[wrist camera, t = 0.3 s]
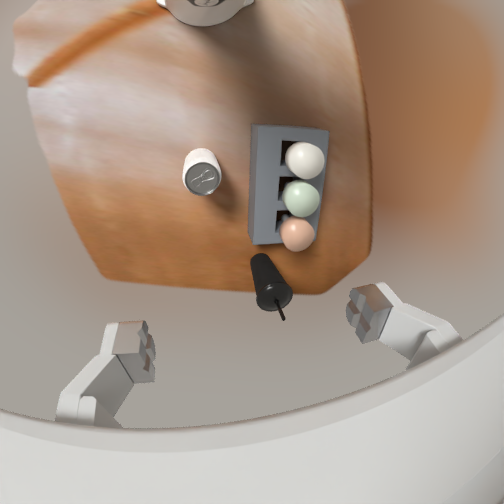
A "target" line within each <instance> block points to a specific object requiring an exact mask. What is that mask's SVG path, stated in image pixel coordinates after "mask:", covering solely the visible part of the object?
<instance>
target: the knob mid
mask: <svg viewBox="0 0 504 504" xmlns="http://www.w3.org/2000/svg"><path fill="white" fill-rule="evenodd" d="M282 200H283V203H284V205H285V206H286V207H287V208H288V210H289V211H290V212H291V213H292V214H293V215H295V216H297V217H306V216H309V215H311V214H312V213H313V212H314V211H315V210H316V209H317V207H318V205H319V201H320V197H319V193H318V191H317V190H316V189H315V188H314V187H313V186H311V185H310V184H309V183H308V182H306V181H304V180H295V181H292V182H286V183H285V184H284V191H283V194H282Z"/></svg>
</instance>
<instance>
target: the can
mask: <svg viewBox="0 0 504 504" xmlns="http://www.w3.org/2000/svg"><path fill="white" fill-rule="evenodd" d="M220 181H221V170H220V167H219V164H218V162H217V159H216V157H215V155H214V154H213V153H212V152H211V151H209V150H207V149H204V148H199V149H195V150H193V151H191V152H190V153H189V154H188V155H187V157H186V159H185V163H184V168H183V182H184V185H185V187H186V188H187V189H188V190H189V191H190V192H191V193H193V194H195V195H199V196H204V195H208V194H211V193H212V192H214V191H215V190H216V188H217V187H218V186H219V184H220Z"/></svg>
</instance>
